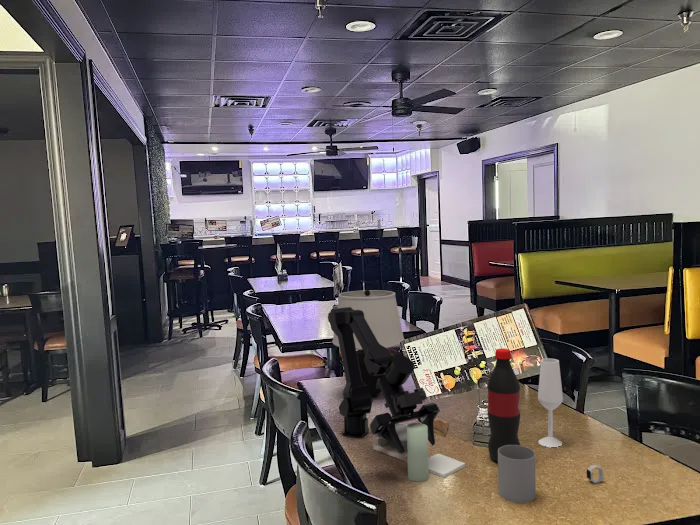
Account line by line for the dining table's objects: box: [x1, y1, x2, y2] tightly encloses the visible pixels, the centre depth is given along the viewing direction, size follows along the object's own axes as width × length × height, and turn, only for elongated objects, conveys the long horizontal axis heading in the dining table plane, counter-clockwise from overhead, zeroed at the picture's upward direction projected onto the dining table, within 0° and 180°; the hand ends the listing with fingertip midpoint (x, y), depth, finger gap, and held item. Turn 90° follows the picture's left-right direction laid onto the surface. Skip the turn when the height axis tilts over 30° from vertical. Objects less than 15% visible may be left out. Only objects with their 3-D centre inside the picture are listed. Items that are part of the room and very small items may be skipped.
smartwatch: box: [586, 464, 605, 484], centre depth 130 cm, size 4×2×4 cm, turn 96°
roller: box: [406, 422, 430, 483], centre depth 135 cm, size 5×5×13 cm
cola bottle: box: [486, 347, 521, 463], centre depth 143 cm, size 8×8×30 cm
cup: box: [497, 444, 537, 504], centre depth 125 cm, size 8×8×10 cm
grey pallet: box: [372, 423, 408, 462], centre depth 152 cm, size 12×10×5 cm
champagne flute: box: [537, 357, 564, 448], centre depth 153 cm, size 7×7×24 cm
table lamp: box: [331, 289, 405, 398], centre depth 201 cm, size 27×27×40 cm
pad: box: [428, 453, 466, 479], centre depth 141 cm, size 9×9×1 cm
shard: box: [433, 419, 449, 438], centre depth 166 cm, size 11×8×2 cm
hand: (418, 448), depth 135 cm, fingers open, 9 cm apart
